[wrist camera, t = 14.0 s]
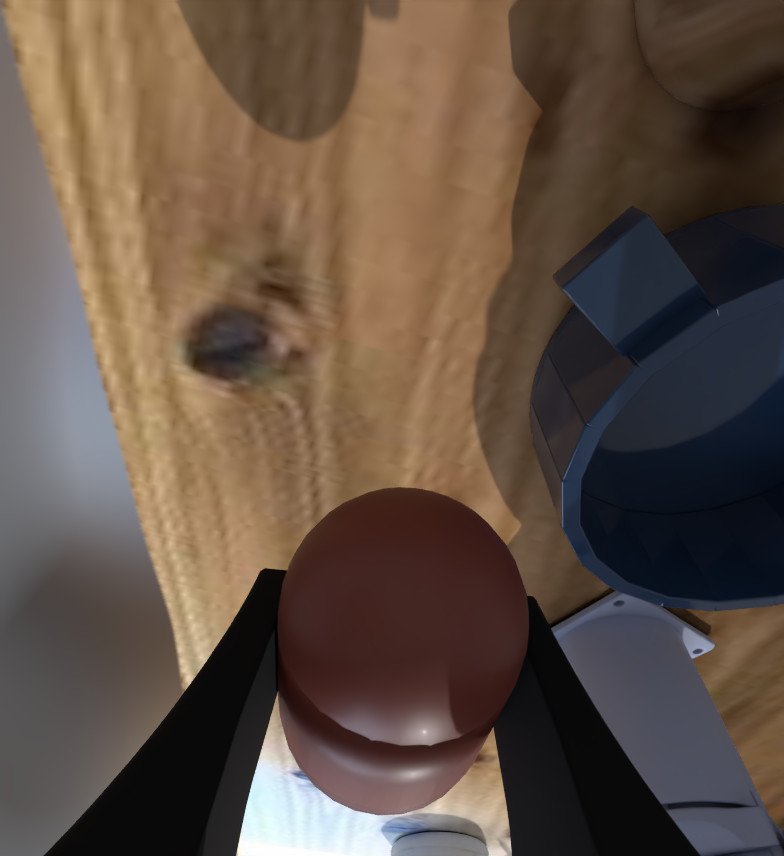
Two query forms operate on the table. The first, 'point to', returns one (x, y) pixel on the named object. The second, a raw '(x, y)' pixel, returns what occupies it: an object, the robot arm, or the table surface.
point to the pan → (671, 409)
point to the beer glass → (714, 50)
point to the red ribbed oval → (397, 647)
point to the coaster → (439, 845)
